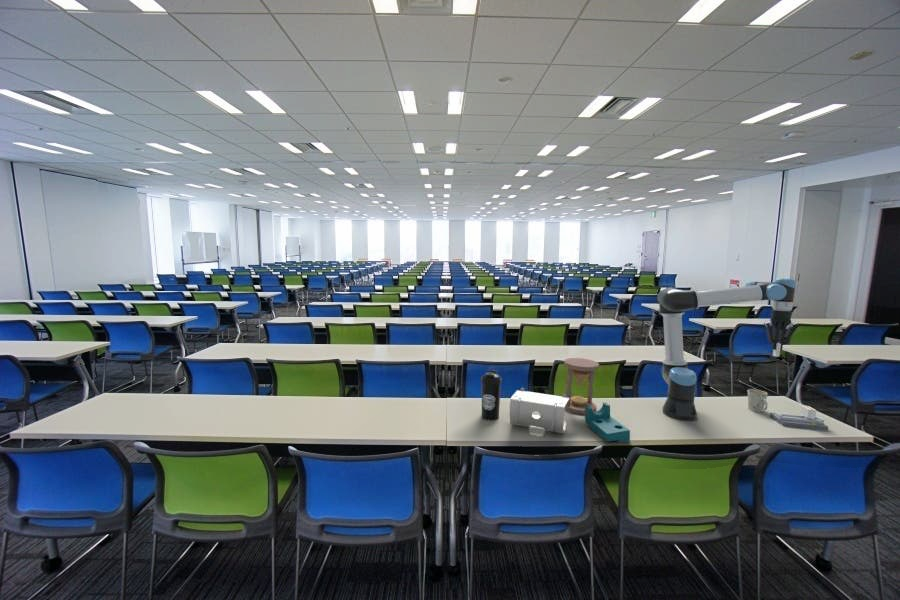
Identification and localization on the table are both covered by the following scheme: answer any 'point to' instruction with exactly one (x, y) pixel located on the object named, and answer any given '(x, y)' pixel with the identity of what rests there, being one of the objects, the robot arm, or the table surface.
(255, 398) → the table surface
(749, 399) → the mug
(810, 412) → the fader tab
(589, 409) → the teal l-shaped bracket
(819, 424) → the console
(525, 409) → the portable electronic device stand
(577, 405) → the hourglass
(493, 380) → the water bottle
